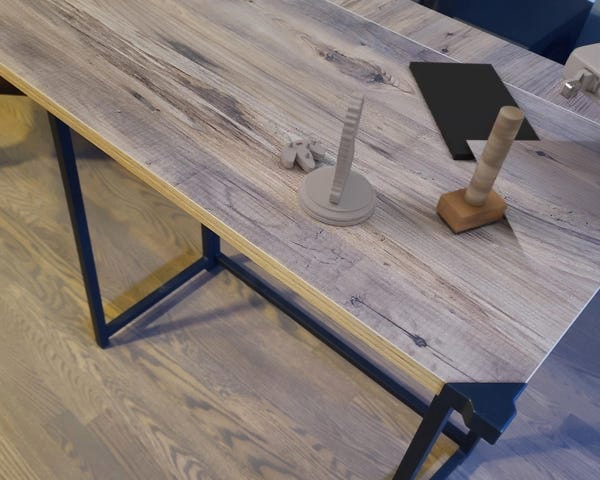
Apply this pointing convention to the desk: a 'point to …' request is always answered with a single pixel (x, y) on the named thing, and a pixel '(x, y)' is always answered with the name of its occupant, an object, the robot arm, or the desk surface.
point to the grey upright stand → (340, 181)
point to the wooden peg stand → (482, 180)
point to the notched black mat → (465, 102)
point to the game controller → (302, 153)
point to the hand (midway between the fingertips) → (592, 111)
